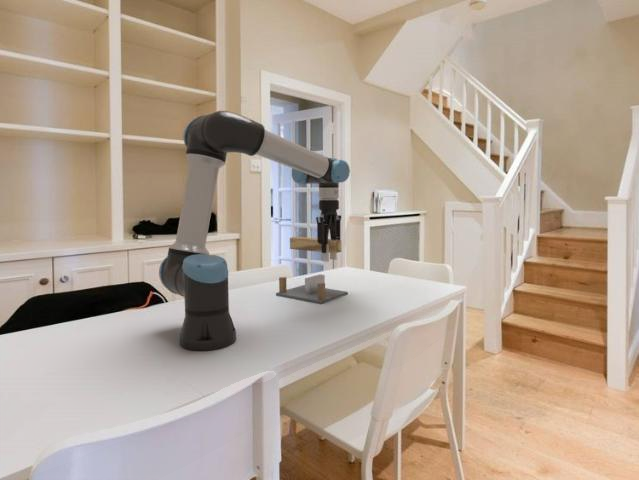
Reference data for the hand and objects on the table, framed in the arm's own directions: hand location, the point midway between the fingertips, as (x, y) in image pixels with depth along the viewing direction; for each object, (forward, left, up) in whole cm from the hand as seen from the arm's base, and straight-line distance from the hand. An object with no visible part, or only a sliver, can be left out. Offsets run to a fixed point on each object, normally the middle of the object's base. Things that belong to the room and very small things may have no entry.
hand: (329, 260), depth 162 cm
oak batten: (0, +7, +3) cm, 8 cm away
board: (-2, +7, -14) cm, 16 cm away
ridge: (0, +7, -14) cm, 16 cm away
